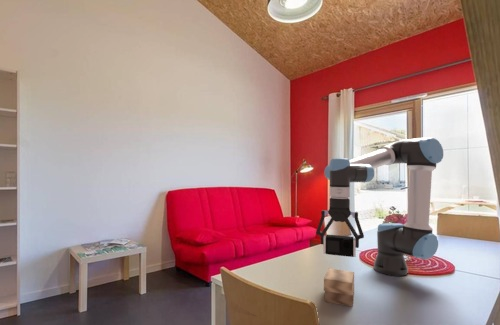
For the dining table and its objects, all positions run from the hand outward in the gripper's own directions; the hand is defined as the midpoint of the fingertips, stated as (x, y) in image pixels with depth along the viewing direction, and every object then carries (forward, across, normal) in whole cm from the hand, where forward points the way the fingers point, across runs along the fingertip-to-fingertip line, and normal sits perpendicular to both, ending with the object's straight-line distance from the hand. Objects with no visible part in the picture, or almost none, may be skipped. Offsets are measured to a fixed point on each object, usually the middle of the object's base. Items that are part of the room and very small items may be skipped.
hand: (339, 254), depth 112 cm
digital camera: (0, 0, 0) cm, 1 cm away
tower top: (+13, 0, 0) cm, 13 cm away
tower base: (+17, 0, 0) cm, 17 cm away
